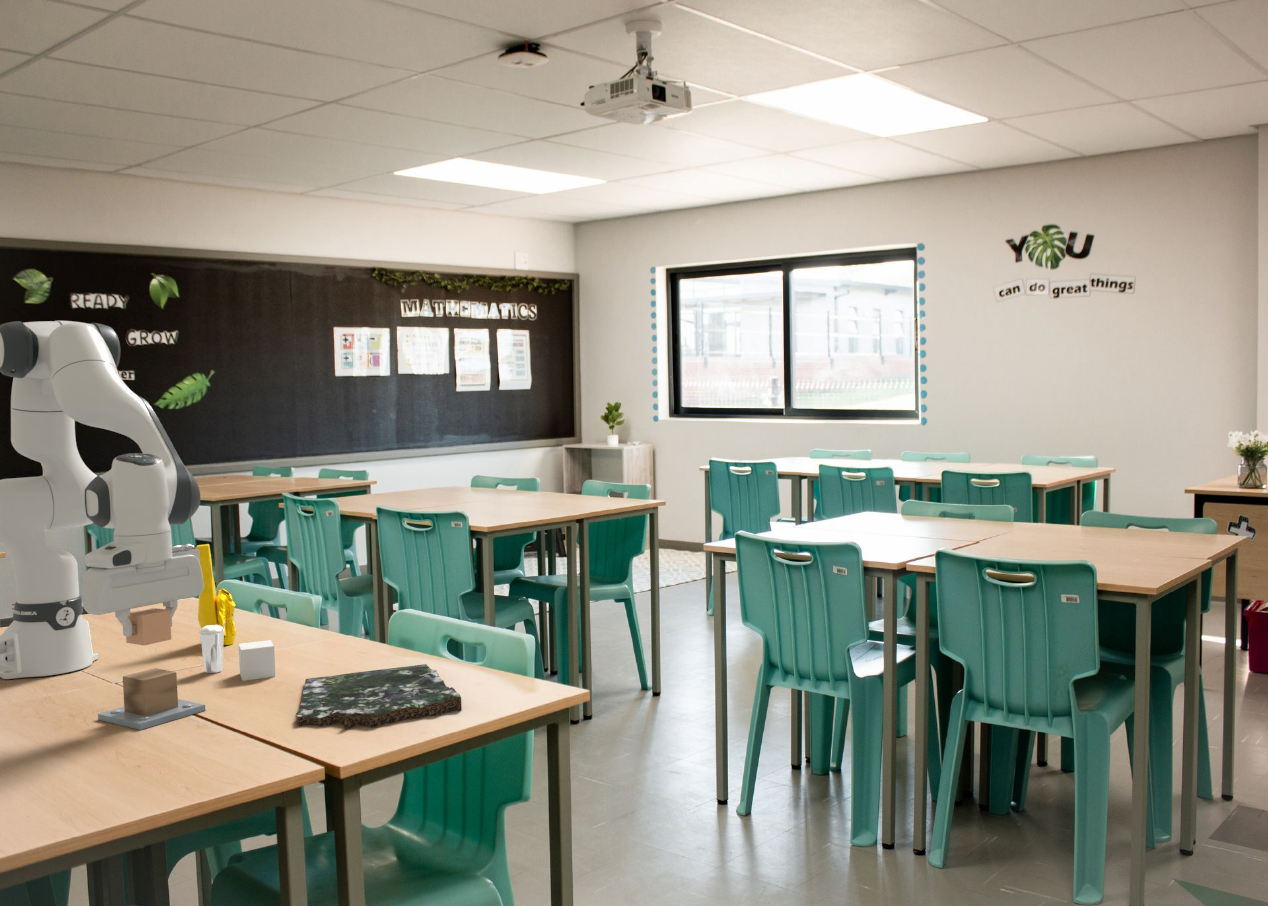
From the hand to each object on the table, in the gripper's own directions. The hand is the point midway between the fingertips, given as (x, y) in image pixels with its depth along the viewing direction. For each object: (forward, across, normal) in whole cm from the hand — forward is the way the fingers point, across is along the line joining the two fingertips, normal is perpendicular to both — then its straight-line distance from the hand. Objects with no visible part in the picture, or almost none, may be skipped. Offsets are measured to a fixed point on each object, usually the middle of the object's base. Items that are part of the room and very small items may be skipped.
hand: (148, 631), depth 180 cm
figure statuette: (+14, -40, -37) cm, 56 cm away
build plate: (+14, 0, 0) cm, 14 cm away
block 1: (+2, 0, 0) cm, 2 cm away
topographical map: (+15, -24, +27) cm, 39 cm away
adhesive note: (+14, -26, -6) cm, 30 cm away
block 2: (+13, 0, 0) cm, 13 cm away
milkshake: (+14, -24, -16) cm, 32 cm away
